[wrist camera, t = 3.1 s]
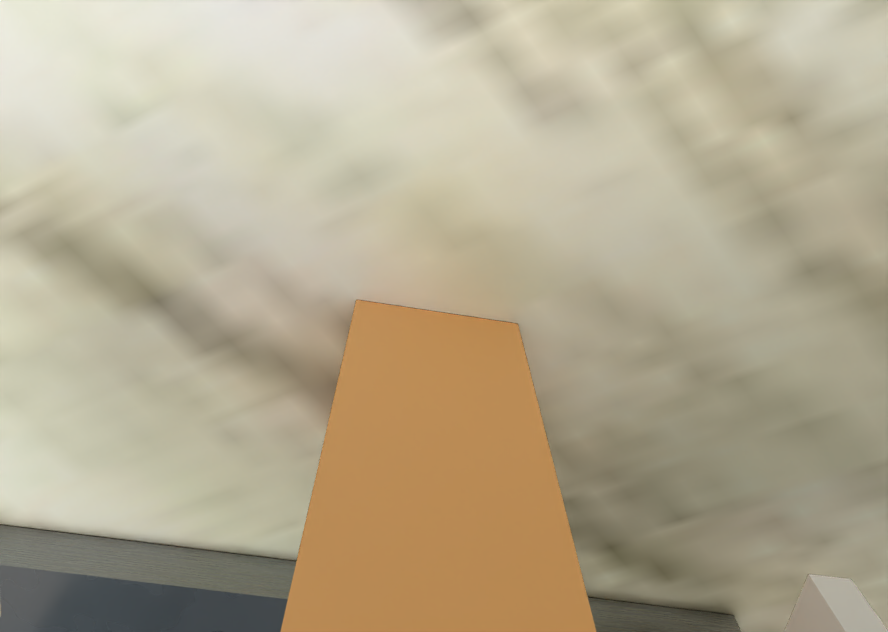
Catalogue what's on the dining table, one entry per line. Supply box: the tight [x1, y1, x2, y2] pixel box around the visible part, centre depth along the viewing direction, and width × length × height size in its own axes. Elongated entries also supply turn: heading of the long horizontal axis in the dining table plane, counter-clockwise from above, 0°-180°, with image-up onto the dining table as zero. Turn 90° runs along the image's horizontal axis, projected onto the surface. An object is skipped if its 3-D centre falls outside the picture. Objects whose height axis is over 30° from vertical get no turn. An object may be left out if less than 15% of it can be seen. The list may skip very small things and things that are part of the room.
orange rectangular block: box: [280, 300, 596, 632], centre depth 15 cm, size 4×4×12 cm
